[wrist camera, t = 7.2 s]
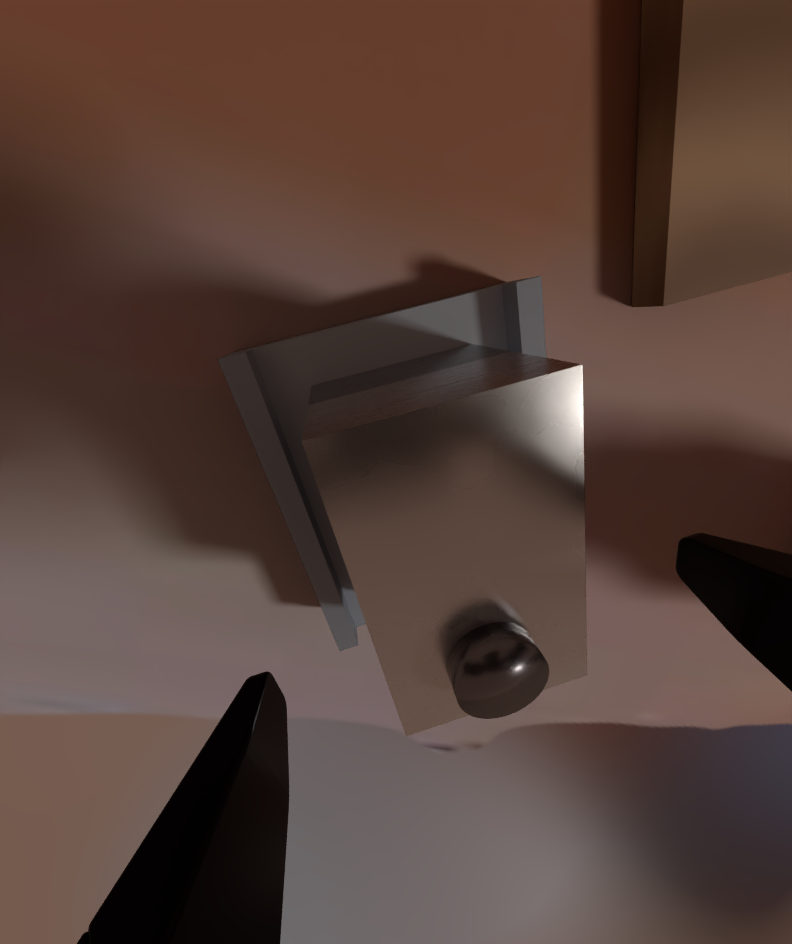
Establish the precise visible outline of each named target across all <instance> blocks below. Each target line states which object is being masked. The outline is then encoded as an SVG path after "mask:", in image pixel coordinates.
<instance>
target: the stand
mask: <svg viewBox="0 0 792 944" xmlns="http://www.w3.org/2000/svg"><path fill="white" fill-rule="evenodd" d="M791 271H792V0H642V18H641V48H640V77H639V107H638V137H637V167H636V197H635V226H634V256H633V286H632V307H650V306H666V305H669V304H673V303H677V302H680V301H684V300H688V299H691V298H695V297H699V296H703V295H706V294H710V293H714V292H717V291H721V290H725V289H728V288H732V287H736V286H740V285H743V284H747V283H751V282H754V281H758V280H762V279H765V278H769V277H773V276H777V275H780V274H784V273H788V272H791Z"/></svg>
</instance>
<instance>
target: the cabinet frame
mask: <svg viewBox="0 0 792 944" xmlns="http://www.w3.org/2000/svg"><path fill="white" fill-rule="evenodd" d="M467 344H475V345H480V346H486V347H491V348H496V349H502V350H507V351H512V352H518V353H523V354H528V355H534V356H539V357H544V358H546V348H545V331H544V314H543V297H542V280H541V276H538V277H533V278H526V279H521V280H515V281H510V282H505V283H502V284H498V285H494V286H490V287H486V288H482V289H478V290H474V291H470V292H467V293H463V294H459V295H455V296H451V297H447V298H443V299H439V300H435V301H431V302H428V303H424V304H420V305H416V306H412V307H408V308H404V309H400V310H396V311H393V312H389V313H385V314H381V315H377V316H373V317H369V318H365V319H361V320H358V321H354V322H350V323H346V324H342V325H338V326H334V327H330V328H326V329H323V330H319V331H315V332H311V333H307V334H303V335H299V336H295V337H291V338H287V339H284V340H280V341H276V342H272V343H268V344H264V345H260V346H256V347H252V348H249V349H245V350H241V351H237V352H233V353H231V354H228V355H226V356H223V357H222V358H219V359H217V360H218V362H219V364H220V367H221V369H222V372H223V374H224V376H225V379H226V381H227V383H228V386H229V388H230V391H231V393H232V395H233V398H234V400H235V403H236V405H237V407H238V410H239V412H240V414H241V417H242V419H243V422H244V424H245V426H246V429H247V431H248V434H249V436H250V438H251V441H252V443H253V446H254V448H255V450H256V453H257V455H258V457H259V460H260V462H261V465H262V467H263V469H264V472H265V474H266V477H267V479H268V481H269V484H270V486H271V488H272V491H273V493H274V496H275V498H276V500H277V503H278V505H279V508H280V510H281V512H282V515H283V517H284V520H285V522H286V524H287V527H288V529H289V531H290V534H291V536H292V539H293V541H294V543H295V546H296V548H297V551H298V553H299V555H300V558H301V560H302V563H303V565H304V567H305V570H306V572H307V574H308V577H309V579H310V582H311V584H312V586H313V589H314V591H315V594H316V596H317V598H318V601H319V603H320V605H321V608H322V610H323V613H324V615H325V617H326V620H327V622H328V625H329V627H330V629H331V632H332V634H333V637H334V639H335V641H336V644H337V646H338V648H339V651H341V650H345V649H348V648H351V647H354V646H357V645H358V638H357V628H356V627H358V626H361V625H364V624H366V622H365V619H364V616H363V613H362V610H361V607H360V605H359V602H358V599H357V596H356V593H355V591H354V588H353V585H352V582H351V579H350V576H349V574H348V571H347V568H346V565H345V562H344V559H343V557H342V554H341V551H340V548H339V545H338V543H337V540H336V537H335V534H334V531H333V528H332V526H331V523H330V520H329V517H328V514H327V512H326V509H325V506H324V503H323V500H322V497H321V495H320V492H319V489H318V486H317V483H316V481H315V478H314V475H313V472H312V469H311V466H310V464H309V461H308V458H307V455H306V452H305V450H304V447H303V444H302V437H303V431H304V426H305V420H306V414H307V409H308V403H309V397H310V392H311V386H312V385H316V384H319V383H323V382H327V381H331V380H335V379H338V378H342V377H346V376H350V375H353V374H357V373H361V372H365V371H369V370H372V369H376V368H380V367H384V366H388V365H391V364H395V363H399V362H403V361H407V360H410V359H414V358H418V357H422V356H426V355H429V354H433V353H437V352H441V351H445V350H448V349H452V348H456V347H460V346H464V345H467Z"/></svg>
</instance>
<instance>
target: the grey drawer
mask: <svg viewBox="0 0 792 944" xmlns="http://www.w3.org/2000/svg"><path fill="white" fill-rule="evenodd" d="M302 444H303V447H304V450H305V452H306V455H307V458H308V461H309V464H310V466H311V469H312V472H313V475H314V478H315V481H316V483H317V486H318V489H319V492H320V495H321V497H322V500H323V503H324V506H325V509H326V512H327V514H328V517H329V520H330V523H331V526H332V528H333V531H334V534H335V537H336V540H337V543H338V545H339V548H340V551H341V554H342V557H343V559H344V562H345V565H346V568H347V571H348V574H349V576H350V579H351V582H352V585H353V588H354V591H355V593H356V596H357V599H358V602H359V605H360V607H361V610H362V613H363V616H364V619H365V622H366V624H367V627H368V630H369V633H370V636H371V638H372V641H373V644H374V647H375V650H376V653H377V655H378V658H379V661H380V664H381V667H382V669H383V672H384V675H385V678H386V681H387V684H388V686H389V689H390V692H391V695H392V698H393V700H394V703H395V706H396V709H397V712H398V715H399V717H400V720H401V723H402V726H403V729H404V731H405V734H406V736H408V735H411V734H414V733H417V732H420V731H423V730H426V729H429V728H432V727H435V726H438V725H441V724H444V723H447V722H450V721H453V720H456V719H459V718H462V717H465V716H467V715H471V716H473V717H477V718H484V719H491V718H499V717H503V716H507V715H510V714H512V713H515V712H517V711H519V710H521V709H522V708H524V707H525V706H527V705H528V704H530V703H531V702H532V701H533V700H534V699H535V698H536V697H537V696H538V695H539V694H540V693H541V692H542V690H544V689H547V688H550V687H553V686H556V685H559V684H562V683H565V682H568V681H571V680H574V679H577V678H580V677H583V676H586V675H587V624H586V559H585V494H584V429H583V365H582V364H576V363H571V362H566V361H560V360H555V359H550V358H544V357H539V356H534V355H528V354H523V353H518V352H512V351H507V350H502V349H496V348H491V347H486V346H480V345H475V344H467V345H464V346H460V347H456V348H452V349H448V350H445V351H441V352H437V353H433V354H429V355H426V356H422V357H418V358H414V359H410V360H407V361H403V362H399V363H395V364H391V365H388V366H384V367H380V368H376V369H372V370H369V371H365V372H361V373H357V374H353V375H350V376H346V377H342V378H338V379H335V380H331V381H327V382H323V383H319V384H316V385H312V386H311V392H310V397H309V403H308V409H307V414H306V420H305V426H304V431H303V437H302Z"/></svg>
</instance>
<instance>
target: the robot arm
mask: <svg viewBox="0 0 792 944" xmlns="http://www.w3.org/2000/svg"><path fill="white" fill-rule="evenodd" d="M676 571H677V573H678V575H679V577H680V578H681V580H682V581H683V582H684V583H685V584H686V585H687V586H688V587H689V589H690V590H691V591H692V592H693V593H694V594H695V595H696V596H697V597H698V598H699V599H700V601H701V602H702V603H703V604H704V605H705V606H706V607H707V608H708V609H709V610H710V611H711V613H712V614H713V615H714V616H715V617H716V618H717V619H718V620H719V621H720V622H721V624H722V625H723V626H724V627H725V628H726V629H727V630H728V631H729V632H730V633H731V634H732V635H733V636H734V637H735V638H736V640H737V641H738V642H739V643H741V644H742V645H743V646H744V647H745V648H746V649H747V650H748V651H749V652H750V653H751V654H752V655H753V656H754V657H755V658H756V659H757V660H758V661H760V662H761V663H762V664H763V665H764V666H765V667H766V668H767V669H768V670H769V671H770V672H771V673H772V674H773V675H775V676H776V677H777V678H778V679H779V680H780V681H781V682H782V683H783V684H784V685H785V686H786V687H787V688H789V689H790V690H791V691H792V555H791V554H787V553H783V552H779V551H775V550H770V549H766V548H762V547H758V546H754V545H750V544H746V543H741V542H737V541H733V540H729V539H725V538H721V537H716V536H712V535H708V534H704V533H696V534H693V535H690V536H687V537H684V538H682V539H681V540H680V541H679V544H678V551H677V560H676ZM288 811H289V767H288V734H287V707H286V701H285V698H284V695H283V693H282V692H281V690H280V688H279V686H278V684H277V682H276V681H275V679H274V677H273V675H272V674H271V673H270V672H263V673H260V674H257V675H254V676H251V677H249V678H248V679H247V680H246V681H245V683H244V684H243V686H242V687H241V689H240V690H239V692H238V693H237V695H236V697H235V698H234V700H233V701H232V703H231V704H230V706H229V708H228V709H227V711H226V712H225V714H224V715H223V717H222V718H221V720H220V722H219V723H218V725H217V726H216V728H215V729H214V731H213V732H212V734H211V736H210V737H209V739H208V740H207V742H206V743H205V745H204V747H203V748H202V750H201V751H200V753H199V754H198V756H197V757H196V759H195V761H194V762H193V764H192V765H191V767H190V768H189V770H188V771H187V773H186V775H185V776H184V778H183V779H182V781H181V782H180V784H179V785H178V787H177V789H176V790H175V792H174V793H173V795H172V796H171V798H170V800H169V801H168V803H167V804H166V806H165V807H164V809H163V811H162V812H161V814H160V815H159V817H158V818H157V820H156V821H155V823H154V824H153V826H152V828H151V829H150V831H149V832H148V834H147V835H146V837H145V839H144V840H143V842H142V843H141V845H140V847H139V848H138V849H137V851H136V853H135V854H134V856H133V858H132V859H131V860H130V862H129V863H128V865H127V867H126V868H125V870H124V871H123V873H122V874H121V876H120V878H119V879H118V881H117V882H116V884H115V885H114V887H113V888H112V890H111V892H110V893H109V895H108V896H107V898H106V899H105V901H104V903H103V904H102V906H101V907H100V909H99V910H98V912H97V913H96V915H95V917H94V918H93V920H92V921H91V923H90V925H89V929H88V932H85V933H84V934H83V935H82V936H81V938H80V940H79V941H78V943H77V944H280V935H281V919H282V904H283V889H284V873H285V858H286V842H287V826H288Z"/></svg>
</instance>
